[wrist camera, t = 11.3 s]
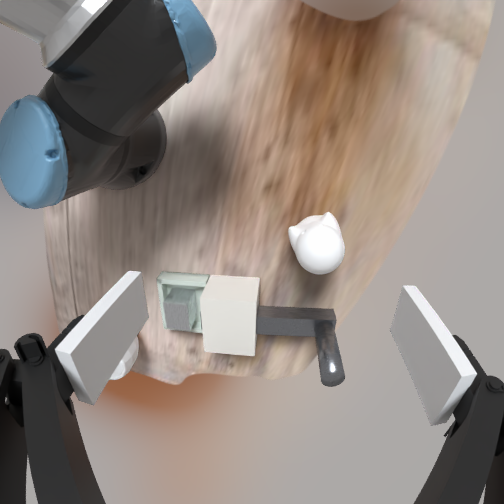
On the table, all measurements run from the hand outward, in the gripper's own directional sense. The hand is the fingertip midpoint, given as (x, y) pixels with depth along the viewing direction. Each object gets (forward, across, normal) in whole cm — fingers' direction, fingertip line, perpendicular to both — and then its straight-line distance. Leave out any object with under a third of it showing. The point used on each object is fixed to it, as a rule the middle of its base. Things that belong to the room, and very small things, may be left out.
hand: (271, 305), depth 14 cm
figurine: (+31, +6, -6) cm, 32 cm away
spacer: (+27, -13, -19) cm, 36 cm away
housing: (+31, -6, -19) cm, 37 cm away
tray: (+31, -14, -19) cm, 39 cm away
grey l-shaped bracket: (+28, 0, -19) cm, 34 cm away
